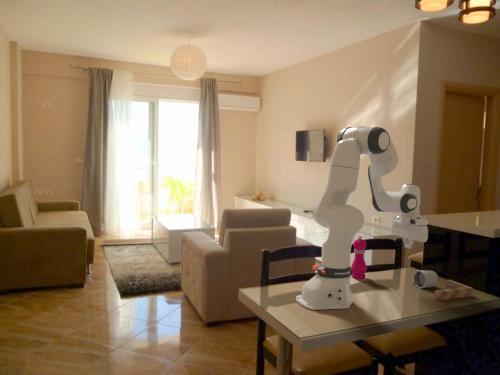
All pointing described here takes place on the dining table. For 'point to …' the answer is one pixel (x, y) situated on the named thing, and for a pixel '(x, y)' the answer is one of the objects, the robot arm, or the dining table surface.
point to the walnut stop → (453, 291)
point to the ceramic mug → (425, 279)
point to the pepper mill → (359, 259)
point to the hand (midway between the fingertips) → (408, 247)
